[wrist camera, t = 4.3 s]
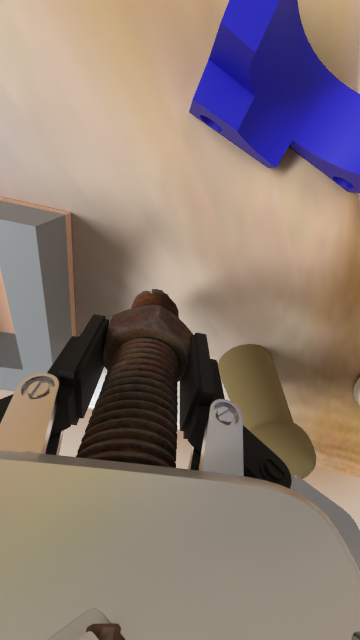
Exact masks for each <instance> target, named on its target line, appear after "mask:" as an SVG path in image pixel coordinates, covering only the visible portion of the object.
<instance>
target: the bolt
mask: <svg viewBox="0 0 360 640" xmlns="http://www.w3.org/2000/svg"><path fill="white" fill-rule="evenodd" d="M191 335H193V334H192V332H191V331H190V330H189V329H188V328H187V326H186V325H185V324H184V323H183V322H182V321H181V320H180V319H179V317H178V309H177V307H176V304H175V303H174V302H173V301H172V300H171V299H170V298H169V296H168V295H167V294H165V293H163V291H162V290H158V289H152V294H151V293H150V291H149V292H148V291H143V292H142V293H140V294H139V295H138V296H137V297H136V298H135V300H134V302H133V305H132V308H131V309H129V310H126V311H123V312H120V313H118V314H115V315H114V316H113V318H112V320H111V322H110V324H109V326H108V330H107V334H106V339H105V344H104V349H103V357H102V360H103V365H104V366H105V368H106V369H107V370H108V371H107V375H106V377H105V381H104V383H103V386H102V390H101V392H100V395H99V398H98V400H97V402H96V404H95V408H94V410H93V411H92V416H91V417H90V420H89V424H88V426H87V428H86V430H85V435H84V437H83V438H82V443H81V445H80V447H79V450H78V455H77V456H76V457H78V458H88V459H97V460H107V461H116V462H125V463H134V464H144V465H153V466H162V467H171V468H176V463H175V461H176V449H177V433H176V432H177V405H178V403H177V398H178V397H177V382H178V381H180V380H181V378H182V377H183V375H184V372H185V370H186V366H187V363H188V360H189V355H190V351H191ZM88 631H91V632H93V633H94V634H95V636H96V637H97V638H98V639H99V640H125V638H124V637H123V636H122V635H121V633H120V632H121V627H120V625H119V624H116V623H111V624H92V625H90V626H88V627H87V630H86V632H88Z"/></svg>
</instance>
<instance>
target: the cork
mask: <svg viewBox="0 0 360 640" xmlns="http://www.w3.org/2000/svg"><path fill="white" fill-rule="evenodd" d="M218 368H219V373H220V377H221V380H222V382H223V384H224V387H225V389H226V392H227V394H228V396H229V399H230V401H231V402H232V403H233V404H235V405H236V406H237V407H238V408H239V410H240V412H241V414H242V419H243V425H244V426H245V427H246V428H247V429H248V430H249V431H250V432H252V433H253V434H254V435H255V436H256V437H257V438H258V439H259V440H260V441H262V442H263V443H264V444H265V445H266V446H267V447H268V448H269V449H270V450H272V451H273V452H274V453H275V454H276V455H277V456H278V457H279V458H280V459H281V460H282V461H283V462H284V463H285V464H286V466H287V467H288V469H289V471H290V474H291V475H293V476H294V477H295V476H296V475H297V476H299V477H300V478H301V479H303V478H305V477H306V476H308V475H309V474H310V473H311V472H312V471H313V469H314V467H315V464H316V454H315V450H314V447H313V445H312V442H311V440H310V439H309V437H308V435H307V434H306V433H305V432H304V430H303V429H302V428H301V427H299V426H298V425H297V424H295V423H293V420H292V417H291V414H290V411H289V408H288V405H287V402H286V399H285V396H284V392H283V389H282V386H281V383H280V380H279V377H278V374H277V371H276V368H275V365H274V362H273V359H272V357H271V354H270V352H269V351H268V350H266V349H265V348H264V347H261V346H259V345H252V344H247V345H241V346H238V347H235V348H233V349H231V350H229V351H228V352H226V353H225V354H224V355H223V356H222V358H221V359H220V361H219V364H218Z"/></svg>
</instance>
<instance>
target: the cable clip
mask: <svg viewBox="0 0 360 640" xmlns="http://www.w3.org/2000/svg"><path fill="white" fill-rule="evenodd" d="M189 112H190V113H191V114H193V115H194V116H195V117H197V118H198V119H200V120H201V121H202V122H204V123H205V124H207V125H208V126H210V127H211V128H212V129H214V130H215V131H217V132H218V133H219V134H221V135H222V136H224V137H225V138H227V139H228V140H229V141H231V142H232V143H234V144H235V145H237V146H238V147H239V148H241V149H242V150H244V151H245V152H246V153H248V154H249V155H251V156H252V157H254V158H255V159H256V160H258V161H259V162H261V163H262V164H263V165H265V166H266V167H268V168H275V167H276V166H277V165H278V163H279V162H280V160H281V158H282V157H283V155H284V153H285V152H286V150H287V149H288V147H290V148H291V149H293V150H294V151H295V152H297V153H298V154H299V155H300V156H302V157H303V158H304V159H306V160H307V161H308V162H310V163H311V164H312V165H314V166H315V167H316V168H317V169H319V170H320V171H321V172H323V173H324V174H325V175H327V176H328V177H329V178H331V179H332V180H333V181H335V182H336V183H337V184H338V185H340V186H341V187H342V188H344V189H345V190H346V191H348V192H354V193H360V94H358V93H357V92H355V91H354V90H352V89H350V88H349V87H347V86H346V85H345V84H343V83H342V82H341V81H339V80H338V79H337V78H336V77H335V76H334V75H333V74H332V73H331V72H329V70H328V69H327V68H326V67H325V66H324V65H323V64H322V62H321V61H320V60H319V58H318V57H317V55H316V54H315V52H314V51H313V49H312V47H311V46H310V44H309V42H308V40H307V37H306V35H305V33H304V30H303V26H302V23H301V19H300V15H299V9H298V1H297V0H229V3H228V5H227V8H226V11H225V13H224V16H223V18H222V21H221V23H220V26H219V29H218V33H217V36H216V39H215V42H214V45H213V48H212V51H211V54H210V57H209V60H208V62H207V65H206V67H205V70H204V73H203V75H202V78H201V80H200V83H199V85H198V88H197V90H196V93H195V95H194V98H193V101H192V104H191V108H190V111H189Z"/></svg>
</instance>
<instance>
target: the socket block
mask: <svg viewBox="0 0 360 640" xmlns="http://www.w3.org/2000/svg"><path fill="white" fill-rule="evenodd" d="M72 336H76V322H75V298H74V275H73V251H72V228H71V212H67V211H62V210H58V209H53V208H49V207H44V206H40V205H35V204H30V203H26V202H21V201H17V200H12V199H8V198H3V197H0V390H9V391H15V390H16V388H17V386H18V385H19V383H20V382H22V381H23V380H24V379H25V378H27V377H29V376H31V375H34V374H39V373H47V372H48V370H49V369H50V367H51V366H52V365H53V363H54V362H55V360H56V359H57V357H58V356H59V354H60V353H61V351H62V350H63V348H64V347H65V345H66V344H67V342H68V341H69V340H70V338H71V337H72Z"/></svg>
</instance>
